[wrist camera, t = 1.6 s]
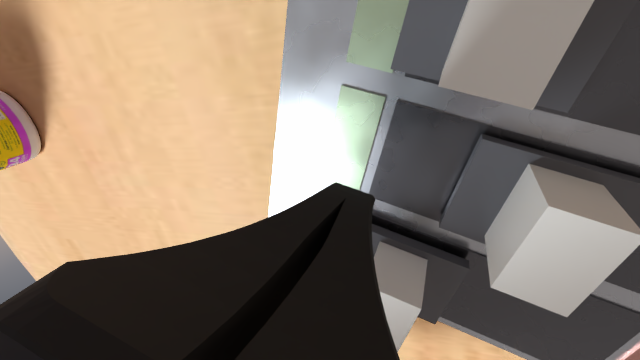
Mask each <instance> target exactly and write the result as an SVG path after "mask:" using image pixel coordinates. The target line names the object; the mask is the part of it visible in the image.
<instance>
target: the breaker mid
mask: <svg viewBox="0 0 640 360" xmlns="http://www.w3.org/2000/svg"><path fill="white" fill-rule="evenodd" d="M439 228H442V229H444V230H447V231H450V232H453V233H455V234H458V235H461V236H464V237H466V238H469V239H472V240H475V241H478V242H480V243H483V244H486V253H487V261H488V270H489V279H490V287H491V288H493V289H496V290H499V291H501V292H504V293H506V294H509V295H511V296H514V297H516V298H519V299H521V300H524V301H527V302H529V303H532V304H534V305H537V306H539V307H542V308H544V309H547V310H549V311H552V312H555V313H557V314H560V315H562V316H565V317H568V316H569V315H570V314H571V313H572V312H573V311H574V310H575V309H576V308H577V307H578V306H579V305H580V304H581V303H582V302H583V301H584V300H585V299H586V298H587V297H588V296H589V295H590V294H591V293H592V292H593V291H594V290H595V289H596V288H597V287H598V286H599V285H600V284H601V283H602V282H603V281H604V280H605V279H606V278H607V277H608V276H609V275H610V274H611V273H612V272H613V271H614V270H615V269H616V268H617V267H618V266H619V265H620V264H621V263H622V262H623V261H624V260H625V259H626V258H627V257H628V256H629V255H630V254H631V253H632V252H633V251H634V250H635V249H636V248H637V247H638V246H639V245H640V178H637V177H634V176H630V175H627V174H623V173H619V172H616V171H612V170H609V169H605V168H602V167H598V166H594V165H591V164H587V163H584V162H580V161H577V160H573V159H570V158H566V157H562V156H559V155H555V154H552V153H548V152H545V151H541V150H537V149H534V148H530V147H527V146H523V145H520V144H516V143H512V142H509V141H505V140H502V139H498V138H495V137H491V136H488V135H484V134H481V135H480V137H479V140H478V142H477V144H476V146H475V148H474V150H473V152H472V154H471V156H470V158H469V160H468V162H467V164H466V166H465V168H464V170H463V172H462V175H461V177H460V179H459V181H458V183H457V185H456V187H455V189H454V191H453V193H452V195H451V197H450V199H449V201H448V203H447V205H446V208H445V210H444V212H443V214H442V216H441V218H440V220H439Z"/></svg>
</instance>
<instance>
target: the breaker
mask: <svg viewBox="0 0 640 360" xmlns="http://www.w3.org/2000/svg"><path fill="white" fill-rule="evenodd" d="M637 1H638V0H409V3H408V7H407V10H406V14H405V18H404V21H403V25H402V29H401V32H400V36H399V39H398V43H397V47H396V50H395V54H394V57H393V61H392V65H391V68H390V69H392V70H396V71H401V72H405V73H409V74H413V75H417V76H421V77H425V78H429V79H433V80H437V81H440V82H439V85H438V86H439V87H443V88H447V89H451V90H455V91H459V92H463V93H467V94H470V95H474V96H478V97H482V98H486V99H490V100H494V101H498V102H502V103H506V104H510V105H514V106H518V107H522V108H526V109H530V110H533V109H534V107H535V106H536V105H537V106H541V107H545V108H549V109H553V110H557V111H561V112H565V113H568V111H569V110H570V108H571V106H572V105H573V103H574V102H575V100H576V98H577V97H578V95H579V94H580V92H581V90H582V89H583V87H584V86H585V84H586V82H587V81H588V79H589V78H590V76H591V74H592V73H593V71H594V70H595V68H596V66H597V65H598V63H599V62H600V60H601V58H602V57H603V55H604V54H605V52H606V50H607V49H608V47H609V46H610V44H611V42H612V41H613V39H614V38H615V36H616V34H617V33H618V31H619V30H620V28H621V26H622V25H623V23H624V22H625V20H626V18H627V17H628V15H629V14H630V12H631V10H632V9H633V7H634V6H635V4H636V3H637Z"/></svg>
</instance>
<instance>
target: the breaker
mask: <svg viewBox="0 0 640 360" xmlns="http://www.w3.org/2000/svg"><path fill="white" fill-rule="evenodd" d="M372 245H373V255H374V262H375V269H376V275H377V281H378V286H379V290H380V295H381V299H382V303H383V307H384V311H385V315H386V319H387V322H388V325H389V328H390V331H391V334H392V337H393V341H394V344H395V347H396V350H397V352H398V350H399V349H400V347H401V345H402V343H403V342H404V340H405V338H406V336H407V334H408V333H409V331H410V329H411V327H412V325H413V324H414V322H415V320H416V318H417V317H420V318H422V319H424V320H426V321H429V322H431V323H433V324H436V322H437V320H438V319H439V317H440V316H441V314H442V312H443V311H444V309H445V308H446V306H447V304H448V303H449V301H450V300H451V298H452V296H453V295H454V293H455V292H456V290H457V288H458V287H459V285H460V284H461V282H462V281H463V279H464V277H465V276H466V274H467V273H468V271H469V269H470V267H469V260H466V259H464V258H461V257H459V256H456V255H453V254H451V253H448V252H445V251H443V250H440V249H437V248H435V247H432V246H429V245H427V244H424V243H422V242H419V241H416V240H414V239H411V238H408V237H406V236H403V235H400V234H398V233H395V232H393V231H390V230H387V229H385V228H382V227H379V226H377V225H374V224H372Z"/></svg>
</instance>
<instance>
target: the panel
mask: <svg viewBox="0 0 640 360" xmlns="http://www.w3.org/2000/svg"><path fill="white" fill-rule="evenodd" d="M408 3H409V0H288V7H287V18H286V28H285V39H284V50H283V61H282V72H281V83H280V94H279V105H278V116H277V127H276V138H275V149H274V160H273V171H272V182H271V193H270V204H269V215H268V217H270V216H272V215H274V214H277V213H279V212H281V211H283V210H285V209H287V208H289V207H291V206H293V205H295V204H297V203H299V202H301V201H303V200H305V199H307V198H308V197H310V196H312V195H314V194H316V193H317V192H319V191H321V190H322V189H324V188H326V187H328V186H329V185H331V184H333V183H335V182H337V183H340V184H343V185H346V186H349V187H351V188H354V189H357V190H360V191H363V192H365V193H368V194H371V195H373V196H374V198H375V203H374V206H373V211H372V224H374V225H377V226H379V227H382V228H385V229H387V230H390V231H393V232H395V233H398V234H400V235H403V236H406V237H408V238H411V239H414V240H416V241H419V242H422V243H424V244H427V245H429V246H432V247H435V248H437V249H440V250H443V251H445V252H448V253H451V254H453V255H456V256H459V257H461V258H464V259H466V260H469V267H470V269H469V271H468V273H467V274H466V276H465V277H464V279H463V281H462V282H461V284H460V285H459V287H458V288H457V290H456V292H455V293H454V295H453V296H452V298H451V300H450V301H449V303H448V304H447V306H446V308H445V309H444V311H443V312H442V314H441V316H440V317H439V319H438V320H437V321H439V322H442V323H444V324H446V325H449V326H451V327H453V328H456V329H458V330H460V331H462V332H465V333H467V334H469V335H472V336H474V337H476V338H479V339H481V340H483V341H485V342H488V343H490V344H492V345H495V346H497V347H499V348H502V349H504V350H506V351H508V352H511V353H513V354H515V355H518V356H520V357H522V358H525V359H527V360H640V245H639V246H638V247H637V248H636V249H635V250H634V251H633V252H632V253H631V254H630V255H629V256H628V257H627V258H626V259H625V260H624V261H623V262H622V263H621V264H620V265H619V266H618V267H617V268H616V269H615V270H614V271H613V272H612V273H611V274H610V275H609V276H608V277H607V278H606V279H605V280H604V281H603V282H602V283H601V284H600V285H599V286H598V287H597V288H596V289H595V290H594V291H593V292H592V293H591V294H590V295H589V296H588V297H587V298H586V299H585V300H584V301H583V302H582V303H581V304H580V305H579V306H578V307H577V308H576V309H575V310H574V311H573V312H572V313H571V314H570V315H569V316H568V317H565V316H562V315H560V314H557V313H555V312H552V311H549V310H547V309H544V308H542V307H539V306H537V305H534V304H532V303H529V302H527V301H524V300H521V299H519V298H516V297H514V296H511V295H509V294H506V293H504V292H501V291H499V290H496V289H493V288H491V287H490V279H489V270H488V261H487V253H486V244H483V243H480V242H478V241H475V240H472V239H469V238H466V237H464V236H461V235H458V234H455V233H453V232H450V231H447V230H444V229H442V228H439V220H440V218H441V216H442V214H443V212H444V210H445V208H446V205H447V203H448V201H449V199H450V197H451V195H452V193H453V191H454V189H455V187H456V185H457V183H458V181H459V179H460V177H461V175H462V172H463V170H464V168H465V166H466V164H467V162H468V160H469V158H470V156H471V154H472V152H473V150H474V148H475V146H476V144H477V142H478V140H479V137H480V135H481V134H484V135H488V136H491V137H495V138H498V139H502V140H505V141H509V142H512V143H516V144H520V145H523V146H527V147H530V148H534V149H537V150H541V151H545V152H548V153H552V154H555V155H559V156H562V157H566V158H570V159H573V160H577V161H580V162H584V163H587V164H591V165H594V166H598V167H602V168H605V169H609V170H612V171H616V172H619V173H623V174H627V175H630V176H634V177H637V178H640V0H638V1H637V3H636V4H635V6H634V7H633V9H632V10H631V12H630V14H629V15H628V17H627V18H626V20H625V22H624V23H623V25H622V26H621V28H620V30H619V31H618V33H617V34H616V36H615V38H614V39H613V41H612V42H611V44H610V46H609V47H608V49H607V50H606V52H605V54H604V55H603V57H602V58H601V60H600V62H599V63H598V65H597V66H596V68H595V70H594V71H593V73H592V74H591V76H590V78H589V79H588V81H587V82H586V84H585V86H584V87H583V89H582V90H581V92H580V94H579V95H578V97H577V98H576V100H575V102H574V103H573V105H572V106H571V108H570V110H569V111H568V113H565V112H561V111H557V110H553V109H549V108H545V107H541V106H537V105H536V106H535V107H534V109H533V110H530V109H526V108H522V107H518V106H514V105H510V104H506V103H502V102H498V101H494V100H490V99H486V98H482V97H478V96H474V95H470V94H467V93H463V92H459V91H455V90H451V89H447V88H443V87H439V86H438V85H439V82H440V81H437V80H433V79H429V78H425V77H421V76H417V75H413V74H409V73H405V72H401V71H396V70H392V69H390V68H391V65H392V61H393V57H394V54H395V50H396V47H397V43H398V39H399V36H400V32H401V29H402V25H403V21H404V18H405V14H406V10H407V7H408Z"/></svg>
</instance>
